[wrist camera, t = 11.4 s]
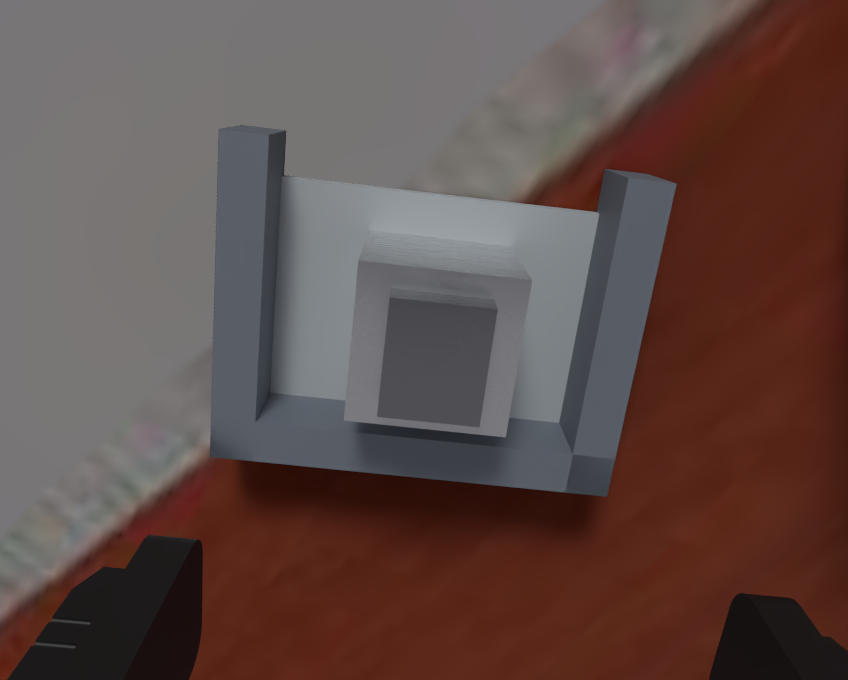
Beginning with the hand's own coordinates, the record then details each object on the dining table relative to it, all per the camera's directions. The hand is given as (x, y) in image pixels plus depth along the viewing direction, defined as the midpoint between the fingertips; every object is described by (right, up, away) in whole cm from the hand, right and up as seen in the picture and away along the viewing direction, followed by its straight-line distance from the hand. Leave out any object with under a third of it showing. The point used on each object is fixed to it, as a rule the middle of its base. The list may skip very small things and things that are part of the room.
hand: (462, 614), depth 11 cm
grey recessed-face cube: (0, +5, +15) cm, 16 cm away
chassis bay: (0, +5, +16) cm, 17 cm away
